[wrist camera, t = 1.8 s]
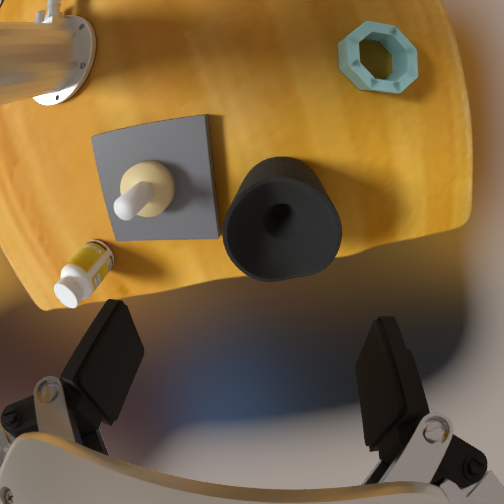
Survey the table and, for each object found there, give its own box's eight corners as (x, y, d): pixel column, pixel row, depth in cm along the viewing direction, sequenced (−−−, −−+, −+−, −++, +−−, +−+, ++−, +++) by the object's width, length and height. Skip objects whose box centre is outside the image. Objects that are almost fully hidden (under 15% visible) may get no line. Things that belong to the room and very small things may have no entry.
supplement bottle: (80, 243, 36) (43, 282, 28) (103, 234, 35) (64, 275, 27) (98, 272, 39) (66, 314, 31) (121, 265, 38) (89, 310, 29)
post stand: (98, 134, 28) (55, 150, 21) (207, 114, 26) (183, 121, 19) (121, 235, 35) (91, 269, 28) (221, 232, 33) (206, 272, 27)
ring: (336, 26, 20) (344, 17, 16) (399, 36, 19) (415, 30, 16) (339, 87, 23) (349, 87, 20) (401, 95, 23) (418, 97, 19)
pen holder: (297, 243, 33) (302, 299, 25) (225, 210, 32) (205, 258, 23) (339, 178, 29) (364, 216, 20) (261, 137, 27) (253, 157, 19)
